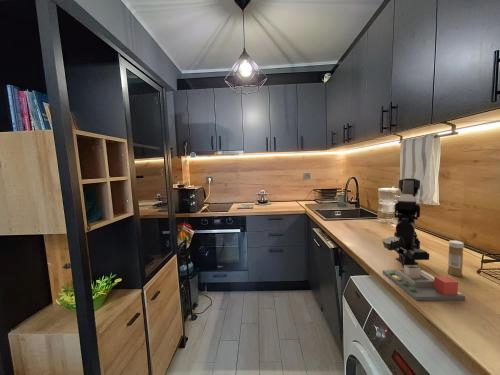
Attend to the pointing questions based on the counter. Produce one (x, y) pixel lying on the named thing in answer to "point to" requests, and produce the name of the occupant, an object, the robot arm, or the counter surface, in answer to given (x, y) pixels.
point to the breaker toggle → (412, 271)
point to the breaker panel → (419, 286)
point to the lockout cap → (446, 285)
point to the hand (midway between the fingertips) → (404, 268)
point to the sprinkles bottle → (455, 258)
